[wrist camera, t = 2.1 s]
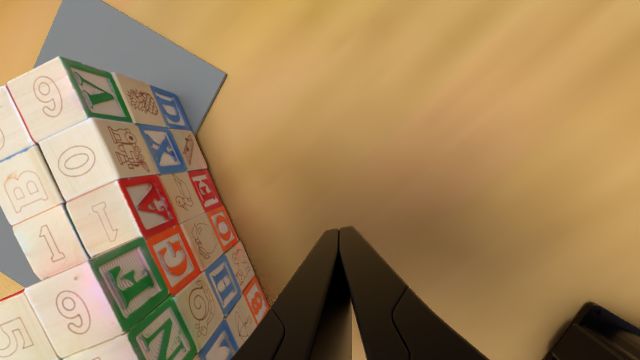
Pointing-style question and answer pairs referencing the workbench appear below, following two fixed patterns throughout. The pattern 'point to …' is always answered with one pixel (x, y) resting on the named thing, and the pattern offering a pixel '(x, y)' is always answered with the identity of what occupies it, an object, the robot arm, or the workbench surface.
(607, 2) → the workbench surface
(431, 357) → the robot arm
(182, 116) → the stack of blocks
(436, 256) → the workbench surface
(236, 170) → the workbench surface
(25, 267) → the mat
